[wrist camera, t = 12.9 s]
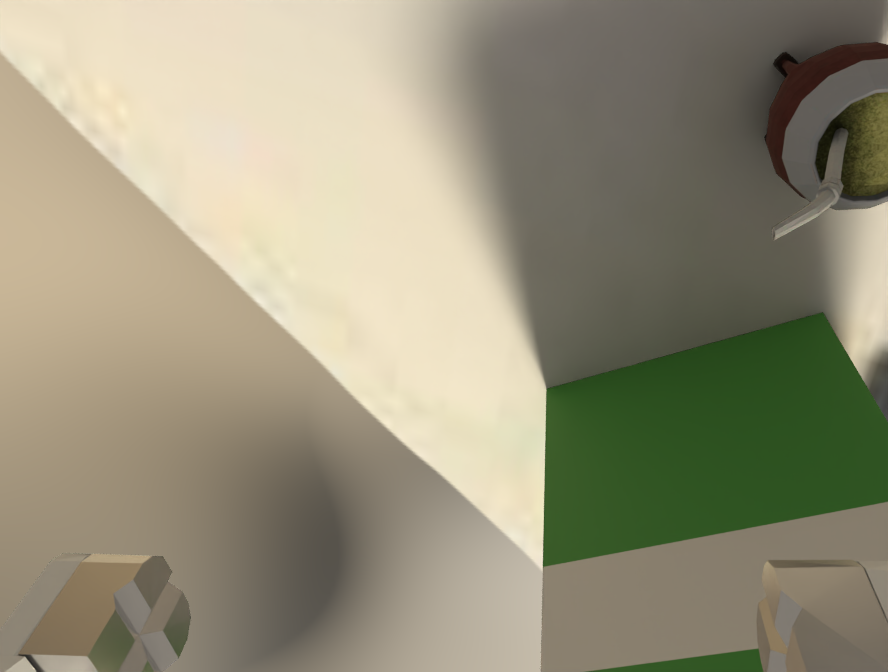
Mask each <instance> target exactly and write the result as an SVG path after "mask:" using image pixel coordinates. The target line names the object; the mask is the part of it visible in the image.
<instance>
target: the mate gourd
mask: <svg viewBox="0 0 888 672" xmlns="http://www.w3.org/2000/svg"><path fill="white" fill-rule="evenodd" d="M773 64H774V66H775V67H776V68H777V69H778V70H779V71H780V72H781V73H782V74H783V75H784V76H785V77H786V78H785V80H784V81H783V83H782V85H781V87H780V89H779V91H778V93H777V95H776V97H775V99H774V101H773V103H772V105H771V107H770V111H769V120H768V128H767V135H766V136H765V141H766V144H767V147H768V150H769V153H770V156H771V159H772V163H773V166H774V169H775V171H776V174H777V175H778V176H780V177H781V178H782V179H783V180H784V181H785V182H786V183H787V184H788V185H789V186H790V187H791V188H792V189H793V190H794V191H796V192H797V193H798V194H799V195H800V196H801V197H803V198H806V199H808V200H809V201H810V202H811V203H810V204H808V205H807V206H806V207H804V208H803V209H801V210H799V211H798V212H796V213H795V214H793V215H792V216H790V217H788V218H787V219H785V220H784V221H782V222H780V223H779V224H777V225H776V226H774V227H773V228H772V238H773V240H776V239H778V238H779V237H781V236H783V235H785V234H787V233H789V232H791V231H792V230H794V229H796V228H798V227H800V226H802V225H803V224H805V223H807V222H809V221H811V220H813V219H814V218H816V217H818V216H819V215H820V214H821V213H823V212H824V211H825V210H826V209H828V208H832V209H835V210H848V209H865V208H871V207H874V206H877V205H879V204H882V203H885V202H887V201H888V45H886V44H882V43H878V42H873V43H862V44H850V45H841V46H837V47H835V48H832V49H830V50H827V51H825V52H823V53H820V54H818V55H815V56H813V57H811V58H809V59H807V60H806V61H804V62H802V63H800V64H799V63H798V62H797V61H796V60H795V59H794V58H793V57H791V56H790V55H789V54H788V53H787V52H784V53H782V54H781V55H780V56H779V57H778V58H777V59H776V60H775V61H774V63H773Z"/></svg>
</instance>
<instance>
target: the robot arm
mask: <svg viewBox="0 0 888 672" xmlns="http://www.w3.org/2000/svg"><path fill="white" fill-rule="evenodd" d="M171 573H172V571H171V569H170V567H169V566H168V564H167V562H166V561H165V559H164V557H163V556H140V555H114V554H113V555H112V554H83V553H81V554H80V553H62V554H61V555H59V556H58V557H56V558H55V559H53V560H51V561H50V562H49V564H48V565H47V567H46V568H45V569H44V571H43V572H42V573H41V575H40V576H39V578H38V579H37V580H36V582H35V583H34V584H33V586H32V587H31V588H30V590H29V591H28V592H27V594H26V595H25V596H24V598H23V599H22V601H21V602H20V603H19V605H18V606H17V607H16V609H15V610H14V611H13V613H12V614H11V616H10V617H9V618H8V620H7V621H6V622H5V624H4V625H3V626H2V628H1V629H0V672H163V671H164V670H165V669H167V668H168V667H169V666H170V665H171V664H172V663H173V662H175V661H176V660H177V659H178V658H179V656H180V654H181V652H182V650H183V647H184V645H185V643H186V641H187V636H188V630H189V625H190V619H191V616H190V610H189V604H188V601H187V599H186V597H185V595H184V593H183V592H182V591H181V590H179V589H178V588H177V587H175V586H174V585H172V584H171V583H169V582H168V580H169V577H170V575H171ZM762 583H763V587H764V590H765V594H766V597H765V598H764V599H763V600H762V601H760V602H759V603H758V610H757V620H756V622H757V641H758V648H759V653H760V659H761V664H762V668H763V672H888V561H853V560H767V562H766V563H765V565H764V568H763V574H762Z"/></svg>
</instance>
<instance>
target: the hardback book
mask: <svg viewBox="0 0 888 672" xmlns="http://www.w3.org/2000/svg"><path fill="white" fill-rule="evenodd" d="M767 560H853V561H888V422H887V420H886V418H885V417H884V415H883V413H882V412H881V410H880V408H879V406H878V405H877V403H876V401H875V400H874V398H873V396H872V395H871V393H870V391H869V390H868V388H867V386H866V385H865V383H864V381H863V380H862V378H861V376H860V374H859V373H858V371H857V369H856V368H855V366H854V364H853V363H852V361H851V359H850V358H849V356H848V354H847V353H846V351H845V349H844V347H843V346H842V344H841V342H840V341H839V339H838V337H837V336H836V334H835V332H834V331H833V329H832V327H831V326H830V324H829V322H828V320H827V319H826V317H825V315H824V314H823V312H822V313H819V314H815V315H812V316H808V317H804V318H801V319H797V320H794V321H790V322H786V323H783V324H779V325H775V326H772V327H768V328H765V329H761V330H757V331H754V332H750V333H747V334H743V335H739V336H736V337H732V338H729V339H725V340H721V341H718V342H714V343H710V344H707V345H703V346H700V347H696V348H692V349H689V350H685V351H682V352H678V353H674V354H671V355H667V356H664V357H660V358H656V359H653V360H649V361H645V362H642V363H638V364H635V365H631V366H627V367H624V368H620V369H617V370H613V371H609V372H606V373H602V374H599V375H595V376H591V377H588V378H584V379H580V380H577V381H573V382H570V383H566V384H562V385H559V386H555V387H552V388H548V389H547V394H546V443H545V492H544V540H543V589H542V590H543V591H542V594H543V595H542V640H541V672H763V668H762V664H761V659H760V653H759V648H758V641H757V622H756V620H757V610H758V603H759V602H760V601H762V600H763V599H764V598H765V597H766V594H765V590H764V587H763V583H762V574H763V568H764V565H765V563H766V562H767Z"/></svg>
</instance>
